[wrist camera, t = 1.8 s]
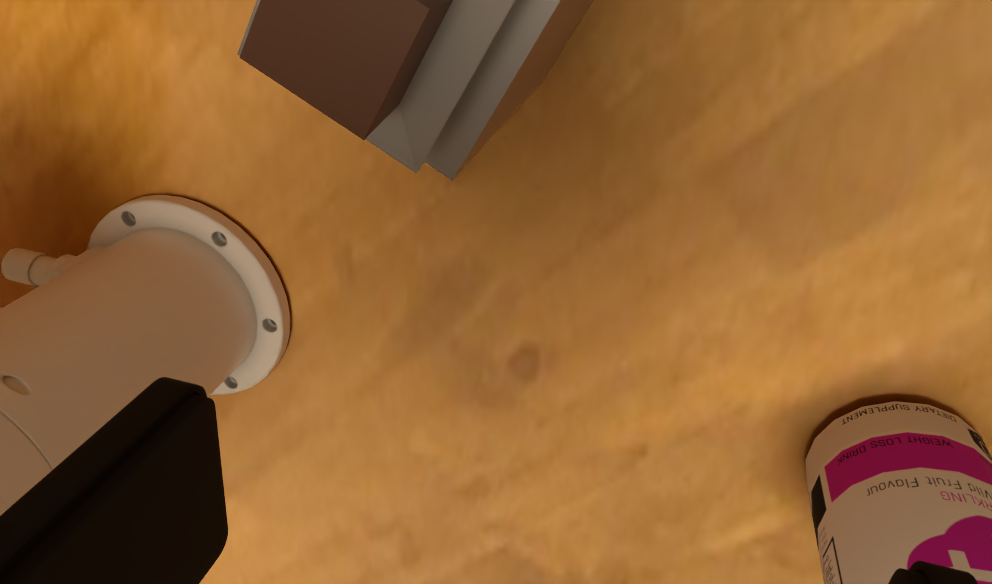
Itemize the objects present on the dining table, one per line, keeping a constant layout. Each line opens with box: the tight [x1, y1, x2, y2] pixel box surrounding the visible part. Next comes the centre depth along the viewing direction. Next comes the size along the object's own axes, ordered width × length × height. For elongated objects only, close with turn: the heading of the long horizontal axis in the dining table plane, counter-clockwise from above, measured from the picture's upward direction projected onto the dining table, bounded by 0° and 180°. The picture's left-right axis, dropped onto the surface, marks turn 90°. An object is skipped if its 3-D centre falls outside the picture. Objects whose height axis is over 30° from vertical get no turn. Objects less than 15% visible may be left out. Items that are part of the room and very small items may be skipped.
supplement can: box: [805, 401, 992, 584], centre depth 31 cm, size 8×8×15 cm
